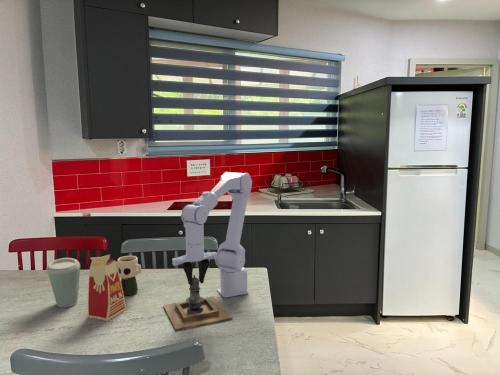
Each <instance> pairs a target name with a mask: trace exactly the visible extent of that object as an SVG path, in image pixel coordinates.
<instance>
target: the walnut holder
mask: <svg viewBox="0 0 500 375" xmlns="http://www.w3.org/2000/svg"><path fill="white" fill-rule="evenodd" d="M203 298H204V301H203V304H202V306H201V307H202V308H203V311H202V312H201V313H197V314H191V313H188V312H187V309H188V308H190V307H189V306H188V305H187V302H186V300H185V301H179V302H174V303H169V304H168V303H167V304H163V305H162V306H163V309H164V311H165V313H166V314H167V315H166V316H168V319H169V321H170V323H171V325H172V327H173V328H174V330H175V332H177V331H182V330H187V329H192V328H197V327H201V326H206V325H211V324H218V323H221V322H227V321H231V320H233V316H232V315H231V314H230V313H229V311H227V309H226V308H225V307H224V306H223V305H222V303H221V302H220V301H219V300H218V299H217V298H216V297H215V295H213V296H206V297H203Z"/></svg>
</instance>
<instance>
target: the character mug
mask: <svg viewBox="0 0 500 375" xmlns="http://www.w3.org/2000/svg"><path fill="white" fill-rule="evenodd" d="M138 261H139V260H138V257H137V255H125V256H120V257H119V258H117V261H116V265H117V269H118V273H119V277H120V281H121V285H122V289H123V293H124V296H127V295H129V296H130V295H134V294H135V293H137V292H138V291H139V288H138V283H137V282H138V281H137V278H136V277H137V276H138V275H139V274H141V273H142V266H141V264H139V262H138Z"/></svg>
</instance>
